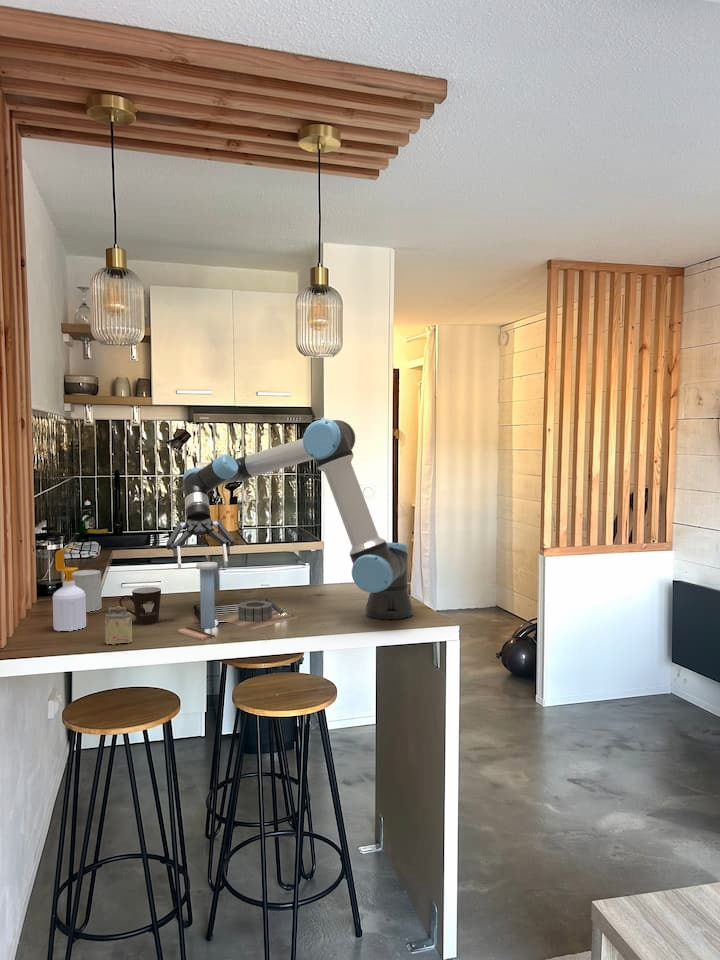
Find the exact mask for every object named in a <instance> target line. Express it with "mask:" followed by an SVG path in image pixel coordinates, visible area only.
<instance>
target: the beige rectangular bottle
mask: <svg viewBox="0 0 720 960" xmlns="http://www.w3.org/2000/svg"><path fill="white" fill-rule="evenodd" d="M126 609H127V607H126V606H123V607H121V606H120V605H117V606H116V607H111V606H109V607H108V609H107V611H108V613H106V614H105V615H104V616H105V618H104V629H105V630H104V631H105V642H104V643H106V644H105V645H108V644H112V645H116V644H115V643H128V644H131V643H133V627H132V626H133V624H132V621H133V619H132V613H130V612H128V611H126ZM112 611H116V612H112ZM121 611H123V612H121ZM130 642H131V643H130Z"/></svg>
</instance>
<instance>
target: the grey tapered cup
mask: <svg viewBox="0 0 720 960" xmlns="http://www.w3.org/2000/svg"><path fill="white" fill-rule="evenodd" d="M73 572H74V573H72V577H73V578H75V586H77V587H79V588H81V589H82V590H83V591H84V592H85V595H86V612H90V611H95V610H99V609H101V608H102V609H103V607H102V606H103V605H102V604H103V603H102V601H103V600H102V571H101V570H98V569H82V570H75V571H73ZM102 609H101V610H102ZM99 611H100V610H99ZM95 612H96V611H95ZM90 613H91V612H90Z"/></svg>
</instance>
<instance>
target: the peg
mask: <svg viewBox="0 0 720 960" xmlns="http://www.w3.org/2000/svg"><path fill="white" fill-rule="evenodd" d="M195 565H196V566H195V568H196V570H199V593H200V594H199V595H200V597H199V598H200V603H199V604H200V605H199V606H200V628H201V629H204V630H205V629H206V630H209V629H210V630H211V629H213V628H215V627H216V619H215V615H216V613H215V610H216V608H215V607H216V606H215V601H216V600H215V569H218V567H219V566H218V565H219V564H218V562H216V561H201V562H197V563H196V564H195Z"/></svg>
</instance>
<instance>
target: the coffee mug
mask: <svg viewBox="0 0 720 960" xmlns="http://www.w3.org/2000/svg"><path fill="white" fill-rule="evenodd" d="M131 594H132V595H128V594H127V595H123V596H122V597H120V599H119V601H118V603H119V606H121V607H124V605H122V601H123V599H125V598H129V599H130V600H131V602H132V603H133V608H134V611H132V610H130V609H128V608H126V612H129V613H131V615H134V617H135V623H136V624H137V625H141V626H148V625H154V624H157V623H159V618H160V617H159V616H160V606H161V596H162V588H161V587H159V586H142V587H137V588H134V589H131Z"/></svg>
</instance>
